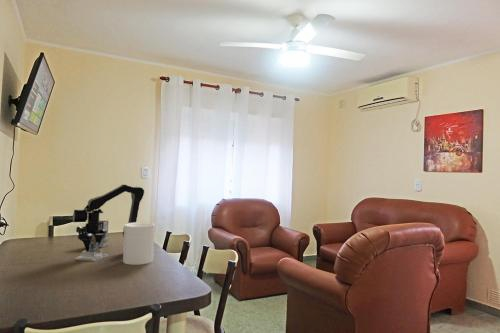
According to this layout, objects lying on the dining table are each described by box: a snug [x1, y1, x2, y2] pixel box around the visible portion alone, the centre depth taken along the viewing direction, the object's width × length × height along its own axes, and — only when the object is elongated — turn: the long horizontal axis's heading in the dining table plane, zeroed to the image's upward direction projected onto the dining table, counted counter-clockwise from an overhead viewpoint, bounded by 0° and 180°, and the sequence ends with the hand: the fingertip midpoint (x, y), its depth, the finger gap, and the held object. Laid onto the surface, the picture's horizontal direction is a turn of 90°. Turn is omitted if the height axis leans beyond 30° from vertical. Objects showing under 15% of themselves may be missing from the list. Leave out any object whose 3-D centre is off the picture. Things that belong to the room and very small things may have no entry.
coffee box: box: [91, 219, 109, 248], centre depth 216 cm, size 9×6×16 cm
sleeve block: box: [74, 248, 109, 262], centre depth 188 cm, size 12×12×4 cm
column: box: [87, 242, 99, 252], centre depth 188 cm, size 4×4×7 cm
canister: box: [122, 221, 156, 266], centre depth 186 cm, size 16×16×20 cm
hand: (92, 249), depth 188 cm, fingers open, 9 cm apart
